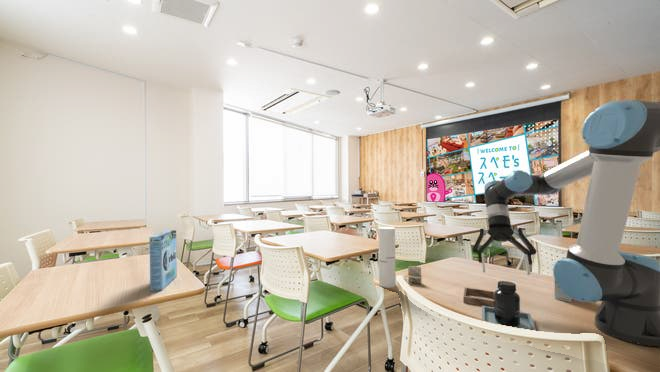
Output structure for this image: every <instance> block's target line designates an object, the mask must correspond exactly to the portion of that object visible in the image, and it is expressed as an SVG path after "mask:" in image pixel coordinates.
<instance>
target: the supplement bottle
mask: <svg viewBox="0 0 660 372" xmlns="http://www.w3.org/2000/svg"><path fill="white" fill-rule="evenodd" d="M516 291H517V285H516V283H515V282H511V281H507V280H499V281H497V289H496V290H495V291H494V298H493V301H494V307H493V308H494V317H495V320H496V321H497V322H498V323H500V324H503V325H506V326H518V325H519V324H520V312H521V296H520V294H519V293H518V292H516Z"/></svg>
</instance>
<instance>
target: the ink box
mask: <svg viewBox="0 0 660 372" xmlns="http://www.w3.org/2000/svg"><path fill="white" fill-rule="evenodd" d="M553 278H554V277H553ZM553 282H554V299H555V300H559V301H564V302H568V303H571V302H572V300H573V299H572V298H570V297H569V296H567V295H566V294H565V293H564V292H563V291H562V290H561V289H560V288H559V285H558V284H557V283H556V281H555V278H554V281H553Z"/></svg>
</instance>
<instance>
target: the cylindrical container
mask: <svg viewBox="0 0 660 372" xmlns="http://www.w3.org/2000/svg"><path fill="white" fill-rule="evenodd" d="M377 230H378V286H380V287H382V288H394V287H396V285H397V284H396V277H397V276H396V228H395V227H394V226H378V229H377Z"/></svg>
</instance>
